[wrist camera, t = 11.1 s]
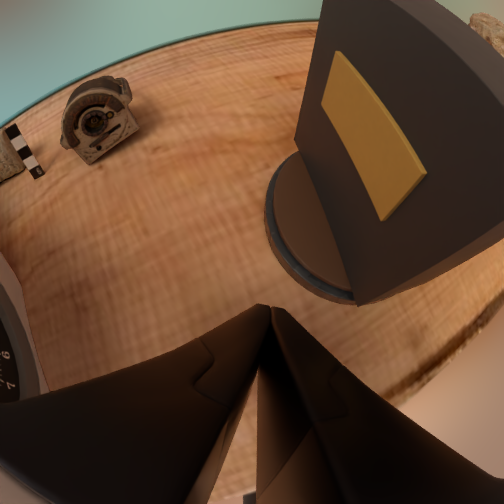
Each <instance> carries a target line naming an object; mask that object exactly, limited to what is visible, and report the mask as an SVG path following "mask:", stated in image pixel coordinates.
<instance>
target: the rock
mask: <svg viewBox="0 0 504 504" xmlns="http://www.w3.org/2000/svg"><path fill="white" fill-rule="evenodd" d="M468 26H470V27H471V28H472V29H473V30H474V31H476V32H477V33H478V34H479V35H480V36H481V37H482V38H484V39H485V40H486V41H487V42H488V43H489V44H490V45H491V46H492V47H493V48H494V49H495V50H496V51H497V52H498V53H500V54H501V55H502V56H503V57H504V24H503V23H501V22H500V21H498V20H497V19H496V18H494V17H492V16H490V15H489V14H486V13H479V14H473V15H472V16H471V17H470V23H469V24H468Z"/></svg>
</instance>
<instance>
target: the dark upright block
mask: <svg viewBox="0 0 504 504" xmlns="http://www.w3.org/2000/svg"><path fill="white" fill-rule="evenodd" d="M294 140H295V143H296V145H297V147H298V149H299V151H298V152H296V153H295V154H294V155H293V156H292V157H291V158H290V159H289V160H288V161H287V162H286V163H285V164H284V166H283V168H282V169H281V171H280V173H279V175H278V178H277V180H276V184H275V188H274V193H273V211H274V217H275V222H276V226H277V228H278V231H279V233H280V236H281V238H282V240H283V241H284V243H285V245H286V247H287V248H288V250H289V251H290V252H291V254H292V255H293V256H294V258H295V259H296V260H297V261H298V262H299V263H300V264H301V265H302V266H303V267H304V268H305V269H306V270H308V271H309V272H310V273H311V274H312V275H314V276H315V277H317V278H319V279H320V280H322V281H323V282H325V283H327V284H329V285H331V286H333V287H336V288H339V289H342V290H345V291H350V292H353V295H354V298H355V302H356V305H357V307H359V306H362V305H365V304H368V303H371V302H374V301H377V300H380V299H383V298H386V297H389V296H392V295H394V294H397V293H400V292H403V291H405V290H408V289H411V288H413V287H416V286H419V285H421V284H424V283H426V282H428V281H430V280H432V279H434V278H436V277H438V276H439V275H441V274H443V273H445V272H447V271H449V270H451V269H452V268H454V267H456V266H458V265H460V264H462V263H463V262H465V261H467V260H469V259H470V258H472V257H474V256H476V255H477V254H479V253H481V252H482V251H484V250H486V249H487V248H489V247H491V246H492V245H494V244H495V243H497V242H499V241H500V240H502V239H503V238H504V57H503V56H502V55H501V54H500V53H498V52H497V51H496V50H495V49H494V48H493V47H492V46H491V45H490V44H489V43H488V42H487V41H486V40H485V39H484V38H482V37H481V36H480V35H479V34H478V33H477V32H476V31H474V30H473V29H472V28H471V27H470V26H468V25H467V24H466V23H464V22H463V21H462V20H461V19H459V18H458V17H457V16H456V15H454V14H453V13H452V12H450V11H449V10H448V9H446V8H445V7H443V6H442V5H440V4H439V3H438V2H436V1H435V0H323V4H322V9H321V14H320V18H319V24H318V29H317V33H316V38H315V43H314V48H313V53H312V58H311V63H310V68H309V72H308V77H307V82H306V87H305V91H304V96H303V101H302V105H301V110H300V115H299V119H298V124H297V128H296V133H295V137H294Z"/></svg>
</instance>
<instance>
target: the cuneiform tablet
mask: <svg viewBox="0 0 504 504" xmlns="http://www.w3.org/2000/svg"><path fill="white" fill-rule="evenodd" d="M25 166H26V167H27V168H28V170H29V172H30V173H31V175H32V176H33V178H34V179H36V178H38V177H40V176H42V175H44V174H45V173H44V171H43V170H42V168H41V166H40V165H39V163H38V162H37V160H36V158H35V157H34V155H33V153H32V152H31V150H30V148H29V147H28V145H27V143H26V141H25V140H24V138H23V136H22V134H21V132H20V131H19V129H18V127H17V125H16V123H14V124H13V125H11V126H10V127H8V128H2V129H1V130H0V183H1V182H2V181H3V180H4V179H6V178H9V177H11V176H13V175H14V174H16V173H19V172H21V171H22V170H24V169H25Z"/></svg>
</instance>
